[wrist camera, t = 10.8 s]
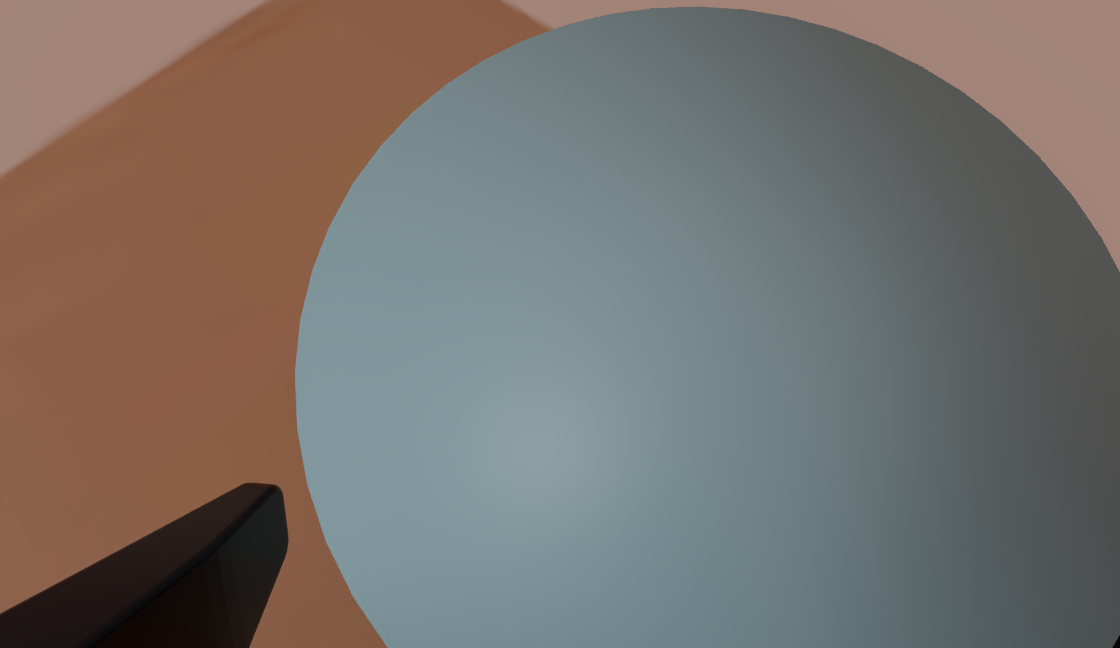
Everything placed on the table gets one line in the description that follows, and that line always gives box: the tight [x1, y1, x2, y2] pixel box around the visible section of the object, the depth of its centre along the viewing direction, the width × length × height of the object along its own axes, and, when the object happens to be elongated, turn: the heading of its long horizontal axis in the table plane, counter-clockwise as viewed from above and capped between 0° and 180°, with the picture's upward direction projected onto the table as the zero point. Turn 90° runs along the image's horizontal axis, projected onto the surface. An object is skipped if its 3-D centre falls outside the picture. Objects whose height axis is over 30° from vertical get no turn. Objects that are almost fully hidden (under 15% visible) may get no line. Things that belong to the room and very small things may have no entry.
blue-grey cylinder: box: [295, 7, 1120, 648], centre depth 10 cm, size 6×6×13 cm
